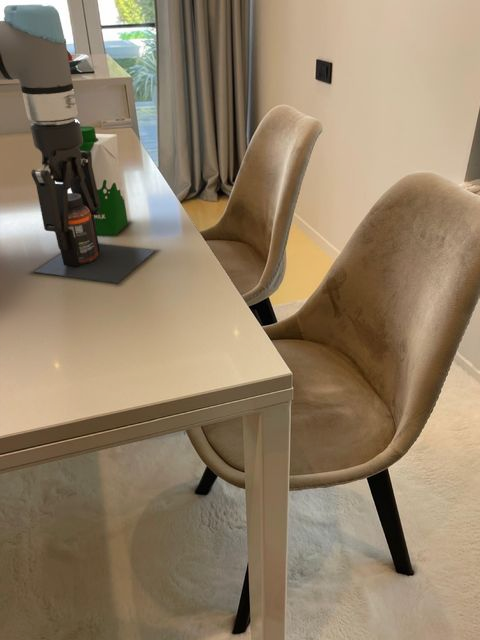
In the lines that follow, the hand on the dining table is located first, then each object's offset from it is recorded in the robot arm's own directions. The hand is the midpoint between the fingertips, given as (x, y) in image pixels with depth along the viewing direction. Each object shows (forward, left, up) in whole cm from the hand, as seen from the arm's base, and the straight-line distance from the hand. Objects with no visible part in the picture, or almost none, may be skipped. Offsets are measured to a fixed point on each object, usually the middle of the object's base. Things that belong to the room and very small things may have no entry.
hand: (82, 257), depth 100 cm
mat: (+3, 0, -1) cm, 3 cm away
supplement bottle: (0, 0, 0) cm, 1 cm away
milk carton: (-4, +15, -1) cm, 16 cm away
